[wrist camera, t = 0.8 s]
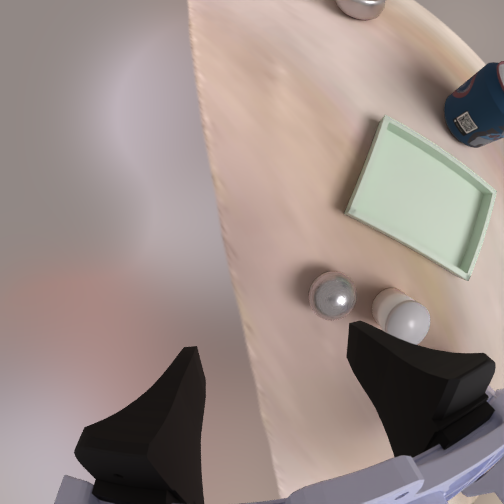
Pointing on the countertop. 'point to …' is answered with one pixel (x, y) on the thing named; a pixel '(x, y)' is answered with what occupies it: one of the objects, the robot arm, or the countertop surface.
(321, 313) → the ball
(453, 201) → the tray
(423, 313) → the shaker
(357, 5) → the plastic bottle
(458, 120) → the soda can
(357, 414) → the countertop surface
